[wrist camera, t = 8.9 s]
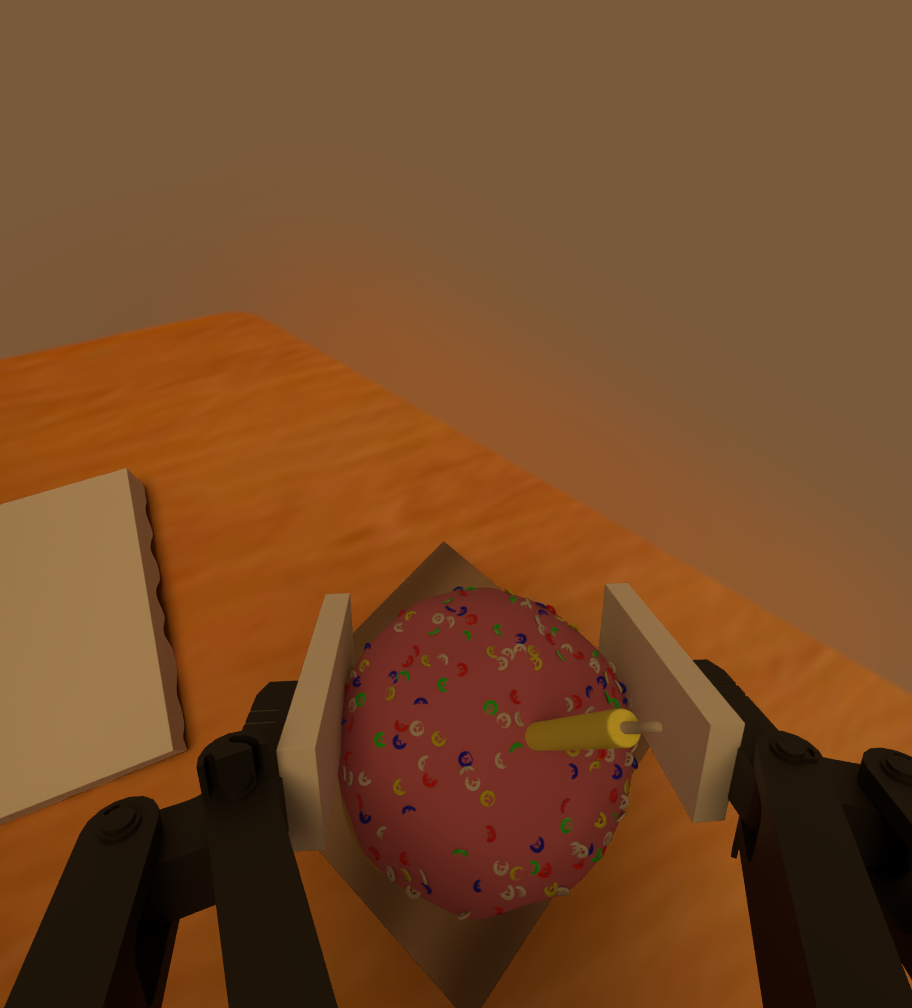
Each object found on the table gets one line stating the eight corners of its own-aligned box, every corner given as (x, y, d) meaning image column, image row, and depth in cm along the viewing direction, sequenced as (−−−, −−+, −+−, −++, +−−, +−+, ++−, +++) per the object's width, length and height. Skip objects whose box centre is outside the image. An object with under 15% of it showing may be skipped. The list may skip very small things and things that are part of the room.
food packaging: (195, 750, 34) (148, 488, 42) (173, 750, 31) (126, 468, 39) (-65, 852, 31) (-66, 552, 39) (-118, 864, 28) (-108, 535, 36)
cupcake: (589, 642, 21) (761, 510, 11) (584, 902, 17) (846, 1113, 7) (376, 610, 21) (331, 448, 11) (324, 863, 17) (171, 1008, 7)
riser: (270, 757, 34) (234, 753, 27) (440, 577, 39) (443, 541, 33) (461, 970, 29) (470, 1024, 23) (620, 734, 35) (662, 726, 29)
